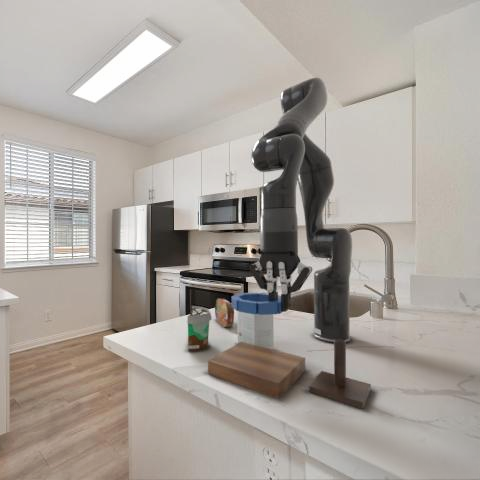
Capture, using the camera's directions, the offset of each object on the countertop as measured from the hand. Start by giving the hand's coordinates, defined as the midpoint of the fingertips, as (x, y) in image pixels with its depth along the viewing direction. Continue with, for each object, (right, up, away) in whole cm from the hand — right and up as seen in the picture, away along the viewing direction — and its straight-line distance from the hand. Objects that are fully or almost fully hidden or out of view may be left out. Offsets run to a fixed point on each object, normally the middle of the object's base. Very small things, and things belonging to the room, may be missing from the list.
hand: (279, 309), depth 65 cm
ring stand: (+10, -15, -5) cm, 19 cm away
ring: (-4, 0, +3) cm, 5 cm away
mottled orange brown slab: (-3, -15, +41) cm, 44 cm away
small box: (+1, -15, +19) cm, 24 cm away
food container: (-14, -15, +20) cm, 29 cm away
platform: (-4, -15, +4) cm, 16 cm away
